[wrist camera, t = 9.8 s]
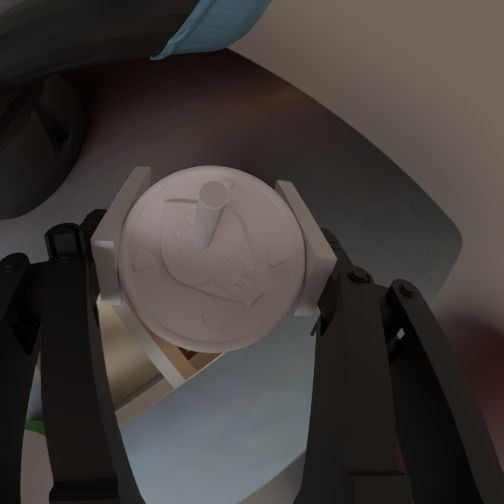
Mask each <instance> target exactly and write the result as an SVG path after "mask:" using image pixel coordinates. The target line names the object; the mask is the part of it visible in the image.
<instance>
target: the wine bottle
mask: <svg viewBox="0 0 504 504" xmlns="http://www.w3.org/2000/svg"><path fill="white" fill-rule="evenodd" d="M52 487H53V475H52V471H51V466H50V461H49V455H48V449H47V443H46V436H45V429H44V421H42V420H30V421H27V422H25V429H24V437H23V447H22V461H21V504H49V492H50V490H51V489H52Z"/></svg>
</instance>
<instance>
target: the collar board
mask: <svg viewBox="0 0 504 504" xmlns="http://www.w3.org/2000/svg"><path fill="white" fill-rule="evenodd" d="M96 303H97V307H98V311H99V321H100V330H101V338H102V345H103V352H104V359H105V365H106V371H107V376H108V382H109V387H110V392H111V397H112V401H113V406H114V410H115V414H116V418H117V422H118V426H119V427H120V426H122V425H123V424H125V423H126V422H128V421H129V420H131V419H132V418H134V417H135V416H137V415H138V414H140V413H141V412H143V411H144V410H146V409H147V408H149V407H150V406H152V405H153V404H155V403H156V402H158V401H159V400H161V399H162V398H164V397H165V396H166V395H168V394H169V393H171V392H172V391H174V390H175V389H176V388H178V387H179V386H181V385H182V384H183V383H185V382H186V381H188V380H189V379H190V378H192V377H193V376H194V375H196V374H197V373H199V372H200V371H201V370H203V369H204V368H205V367H207V366H208V365H209V364H211V363H212V362H213V361H215V360H216V359H217V358H219V357H220V356H221V355H223V354H224V353H225V352H223V353H203V352H196V351H191V350H187V349H184V348H181V347H178V346H176V345H174V344H172V343H169V342H167V341H166V340H164V339H163V338H161V337H159V336H158V335H157V334H155V333H154V332H153V331H151V330H150V329H149V328H148V327H147V326H146V325H145V324H144V323H143V322H142V321H141V320H140V318H139V317H138V316H137V315H136V313H135V312H134V310H133V309H132V307H131V305H130V304H129V302H128V300H127V298H126V295H124V299H123V302H122V306H116V305H107V304H102V301H101V297H100V294H99V296H98V299H97V302H96ZM40 350H41V348H40ZM33 379H34V380H35V382H36V383H37V385H38V386H39V388H40V389H41V373H40V352H39V356H38V360H37V364H36V368H35V372H34V377H33Z"/></svg>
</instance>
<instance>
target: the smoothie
mask: <svg viewBox="0 0 504 504" xmlns="http://www.w3.org/2000/svg"><path fill="white" fill-rule="evenodd" d="M118 270H119V276H120V281H121V284H122V287H123V291H124V293H125V295H126V298H127V300H128V302H129V304H130V305H131V307H132V309H133V310H134V312H135V313H136V315H137V316H138V317H139V318H140V320H141V321H142V322H143V323H144V324H145V325H146V326H147V327H148V328H149V329H150V330H151V331H153V332H154V333H155V334H157V335H158V336H159V337H161V338H163V339H164V340H166V341H167V342H169V343H172V344H174V345H176V346H178V347H181V348H184V349H187V350H191V351H196V352H203V353H223V352H229V351H234V350H238V349H242V348H244V347H247V346H250V345H252V344H254V343H256V342H258V341H260V340H261V339H263V338H264V337H266V336H267V335H269V334H270V333H271V332H272V331H274V330H275V329H276V328H277V327H278V326H279V325H280V324H281V323H282V322H283V320H284V319H285V318H286V317H287V316H288V314H289V313H290V311H291V310H292V308H293V306H294V304H295V302H296V301H297V298H298V296H299V293H300V291H301V287H302V284H303V280H304V274H305V247H304V241H303V237H302V234H301V230H300V228H299V225H298V223H297V220H296V218H295V216H294V215H293V213H292V211H291V210H290V208H289V207H288V205H287V204H286V203H285V201H284V200H283V199H282V198H281V197H280V196H279V194H278V193H276V192H275V191H274V190H273V189H272V188H271V187H270V186H268V185H267V184H266V183H264V182H263V181H261V180H260V179H258V178H256V177H254V176H252V175H250V174H248V173H246V172H243V171H240V170H237V169H233V168H229V167H223V166H198V167H192V168H188V169H184V170H181V171H178V172H175V173H173V174H171V175H169V176H167V177H165V178H163V179H162V180H160V181H158V182H157V183H156V184H154V185H153V186H152V187H150V188H149V189H148V190H147V191H146V192H145V193H144V194H143V195H142V196H141V197H140V199H139V200H138V201H137V202H136V204H135V205H134V206H133V208H132V210H131V211H130V213H129V215H128V217H127V219H126V221H125V223H124V226H123V229H122V232H121V238H120V245H119V253H118Z"/></svg>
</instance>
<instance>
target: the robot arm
mask: <svg viewBox="0 0 504 504" xmlns="http://www.w3.org/2000/svg"><path fill="white" fill-rule="evenodd" d="M270 2H271V0H0V219H12V218H16V217H19V216H21V215H23V214H26V213H27V212H29V211H31V210H33V209H34V208H36V207H37V206H38V205H40V204H41V203H42V202H43V201H45V200H46V199H47V198H48V197H49V196H50V195H51V194H52V193H53V192H54V191H55V190H56V189H57V187H58V186H59V185H60V184H61V182H62V181H63V180H64V178H65V177H66V175H67V174H68V172H69V171H70V169H71V167H72V166H73V164H74V162H75V160H76V158H77V156H78V153H79V151H80V148H81V145H82V142H83V138H84V132H85V115H84V110H83V107H82V105H81V103H80V101H79V98H78V96H77V94H76V92H75V90H74V89H73V88H72V87H71V85H70V84H69V83H67V82H66V81H65V80H63V79H62V78H61V77H60V76H58V75H59V74H63V73H67V72H70V71H74V70H79V69H83V68H87V67H92V66H96V65H101V64H107V63H112V62H118V61H124V60H131V59H138V58H146V57H150V59H151V60H160V59H163V58H165V57H167V56H168V55H174V54H184V53H196V52H210V51H216V50H220V49H223V48H226V47H228V46H229V45H231V44H232V43H234V42H235V41H237V40H239V39H241V38H242V37H243V36H244V35H246V34H247V33H248V32H249V31H250V30H251V28H252V27H253V26H254V25H255V24H256V22H257V21H258V20H259V19H260V17H261V16H262V15H263V13H264V12H265V10H266V8H267V7H268V5H269V3H270ZM150 172H151V167H144V166H136V167H135V168H134V170H133V171H132V173H131V174H130V176H129V177H128V179H127V180H126V182H125V183H124V185H123V186H122V188H121V189H120V191H119V192H118V194H117V196H116V197H115V199H114V200H113V202H112V204H111V205H110V207H109V208H108V210H103V209H95V210H94V211H92V212H91V213H89V214H88V215H87V216H86V218H85V219H84V221H83V223H82V224H81V225H80V226H79V225H78V224H74V223H63V224H59V225H56V226H54V227H52V228H51V229H49V230H48V231H47V232H46V234H45V236H44V238H45V243H46V247H47V251H48V255H49V261H46V262H41V263H34V264H30V262H29V258H28V256H27V255H25V254H24V253H13V254H10V255H8V256H6V257H5V258H3V259H2V260H1V261H0V504H21V461H22V447H23V437H24V429H25V421H26V414H27V408H28V402H29V396H30V391H31V386H32V381H33V377H34V372H35V368H36V364H37V360H38V356H39V352H40V373H41V397H42V410H43V420H44V429H45V436H46V443H47V449H48V455H49V461H50V466H51V471H52V475H53V487H52V489H51V490H50V492H49V504H146V503H145V501H144V500H143V498H142V496H141V494H140V492H139V489H138V487H137V484H136V481H135V478H134V476H133V473H132V470H131V467H130V464H129V461H128V458H127V454H126V451H125V448H124V444H123V441H122V437H121V434H120V430H119V426H118V422H117V418H116V414H115V410H114V406H113V401H112V397H111V392H110V387H109V382H108V376H107V371H106V365H105V359H104V352H103V345H102V338H101V330H100V321H99V311H98V307H97V303H96V302H97V299H98V296H99V294H100V297H101V301H102V304H107V305H116V306H122V302H123V299H124V295H125V293H124V291H123V287H122V284H121V281H120V276H119V270H118V253H119V245H120V238H121V232H122V229H123V226H124V223H125V221H126V219H127V217H128V215H129V213H130V211H131V210H132V208H133V206H134V205H135V204H136V202H137V201H138V200H139V199H140V197H141V196H142V195H143V194H144V193H145V192H146V191H147V190H148V189H149V188H150ZM274 191H275V192H276V193H278V194H279V196H280V197H281V198H282V199H283V200H284V201H285V203H286V204H287V205H288V207H289V208H290V210H291V211H292V213H293V215H294V216H295V218H296V220H297V223H298V225H299V228H300V230H301V234H302V237H303V241H304V247H305V274H304V280H303V284H302V287H301V291H300V293H299V296H298V298H297V301H296V302H295V304H294V306H293V308H292V310H293V313H294V316H313V314H314V311H315V309H316V307H317V305H318V307H319V309H320V312H321V314H320V316H319V318H318V320H317V322H316V324H315V326H314V328H313V330H312V332H311V336H313V335H314V333H315V331H316V349H315V365H314V379H313V391H312V402H311V413H310V423H309V432H308V440H307V449H306V457H305V464H304V471H303V478H302V485H301V489H300V491H299V493H298V495H297V496H296V498H295V500H294V503H293V504H412V498H413V502H414V504H504V472H503V471H502V469H501V467H500V464H499V461H498V457H497V454H496V451H495V448H494V445H493V442H492V439H491V437H490V434H489V431H488V428H487V426H486V423H485V421H484V418H483V415H482V413H481V411H480V408H479V405H478V403H477V401H476V398H475V396H474V394H473V391H472V389H471V387H470V385H469V383H468V381H467V378H466V376H465V374H464V372H463V370H462V368H461V366H460V364H459V362H458V360H457V358H456V356H455V354H454V352H453V350H452V348H451V346H450V344H449V342H448V340H447V338H446V337H445V335H444V333H443V331H442V329H441V328H440V326H439V324H438V322H437V320H436V319H435V317H434V315H433V313H432V312H431V310H430V308H429V307H428V305H427V303H426V302H425V300H424V298H423V297H422V295H421V293H420V292H419V290H418V289H417V288H416V287H415V286H414V285H413V284H412V283H410V282H408V281H406V280H402V279H396V280H394V281H393V282H392V284H391V286H390V287H389V288H388V287H384V286H381V285H377V284H374V280H373V278H372V276H371V275H370V274H369V273H368V272H367V271H365V270H364V269H362V268H360V267H357V266H353V264H352V263H351V261H350V259H349V258H348V256H347V254H346V253H345V251H344V250H343V248H342V246H341V245H340V244H339V241H338V240H337V238H336V237H335V235H334V234H332V233H331V232H330V231H329V230H328V229H325V228H319V226H318V225H317V223H316V221H315V220H314V218H313V216H312V215H311V213H310V211H309V210H308V208H307V207H306V205H305V203H304V202H303V200H302V198H301V197H300V195H299V194H298V192H297V190H296V189H295V187H294V186H293V184H292V183H291V182H288V181H282V180H277V182H276V186H275V190H274ZM401 328H402V329H403V331H404V333H405V334H404V335H403V337H402V338H401V339H399V338H398V336H397V333H398V332H399V331H400V329H401ZM40 348H41V350H40ZM396 435H397V438H398V442H399V446H400V449H401V453H402V457H403V461H404V465H405V469H406V472H407V474H405V473H403V472H401V471H399V469H398V467H397V454H396V453H397V451H396Z"/></svg>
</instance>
